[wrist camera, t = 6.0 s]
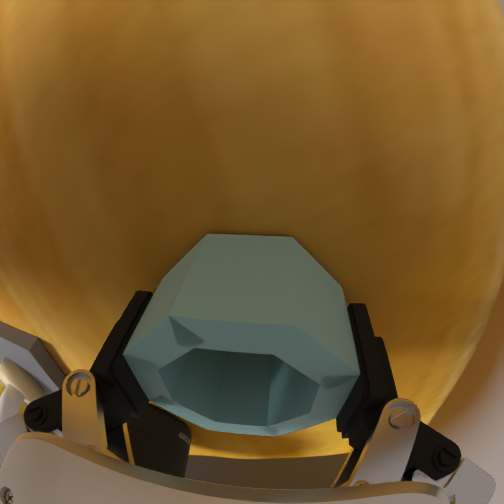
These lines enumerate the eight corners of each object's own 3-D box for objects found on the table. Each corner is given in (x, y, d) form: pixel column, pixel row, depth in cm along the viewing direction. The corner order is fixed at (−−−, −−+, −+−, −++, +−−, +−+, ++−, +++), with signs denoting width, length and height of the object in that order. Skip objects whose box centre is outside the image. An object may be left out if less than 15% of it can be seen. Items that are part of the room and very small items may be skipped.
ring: (153, 232, 10) (98, 305, 6) (351, 239, 9) (383, 325, 6) (183, 354, 13) (162, 421, 10) (321, 364, 13) (326, 436, 9)
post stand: (-29, 307, 17) (-65, 354, 11) (38, 337, 16) (-9, 413, 9) (26, 384, 25) (4, 426, 18) (102, 419, 23) (80, 475, 17)
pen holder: (180, 445, 24) (161, 523, 15) (98, 409, 22) (67, 486, 13) (212, 424, 19) (190, 535, 10) (101, 376, 17) (54, 485, 9)
